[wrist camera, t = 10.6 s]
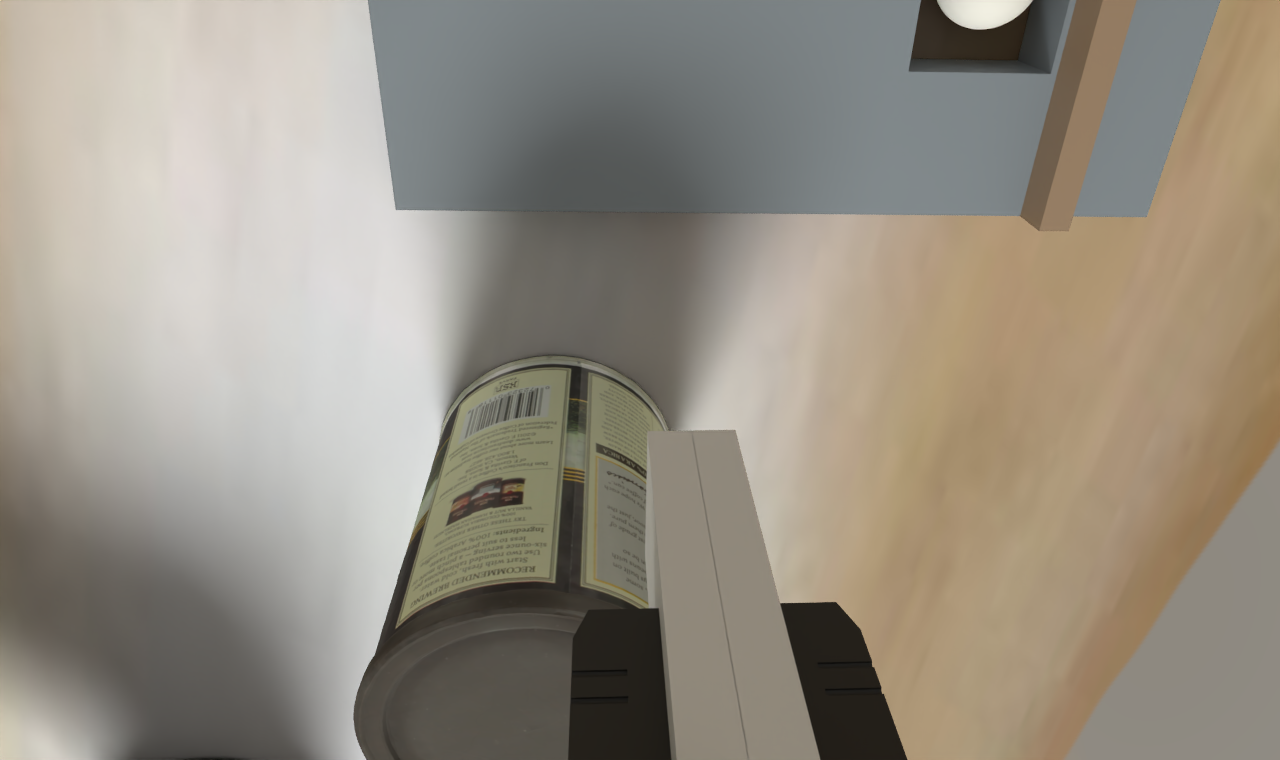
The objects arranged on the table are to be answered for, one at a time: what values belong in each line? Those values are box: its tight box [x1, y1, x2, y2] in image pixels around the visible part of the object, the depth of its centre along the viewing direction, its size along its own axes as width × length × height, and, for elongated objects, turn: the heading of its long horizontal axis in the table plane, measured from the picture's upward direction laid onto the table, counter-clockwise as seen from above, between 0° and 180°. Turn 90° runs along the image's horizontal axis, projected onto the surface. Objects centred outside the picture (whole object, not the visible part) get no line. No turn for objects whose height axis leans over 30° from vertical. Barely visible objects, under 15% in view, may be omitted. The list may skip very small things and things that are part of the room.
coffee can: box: [354, 355, 669, 760], centre depth 30 cm, size 10×10×14 cm
